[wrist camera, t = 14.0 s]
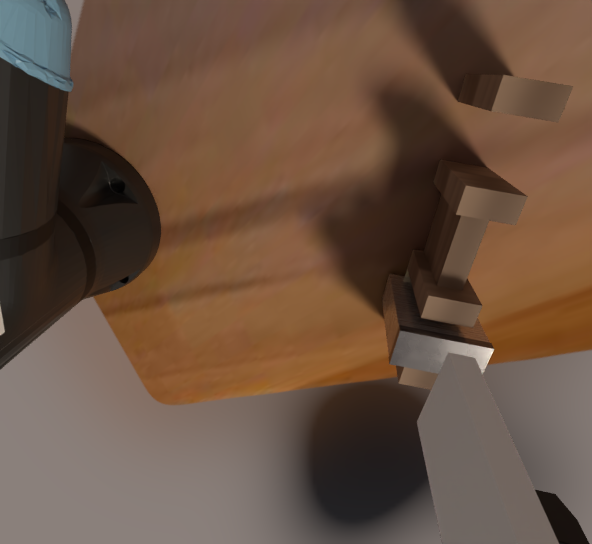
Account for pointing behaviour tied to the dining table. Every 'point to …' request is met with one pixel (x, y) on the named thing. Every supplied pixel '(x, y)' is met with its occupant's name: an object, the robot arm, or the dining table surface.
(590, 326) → the dining table surface
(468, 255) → the brown long notched block
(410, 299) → the bracket plate
